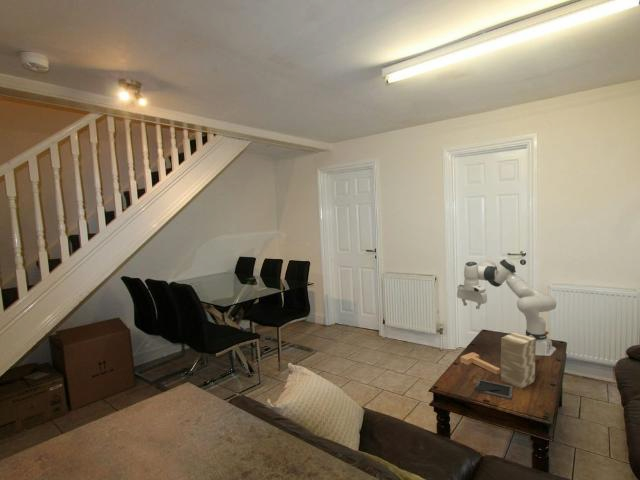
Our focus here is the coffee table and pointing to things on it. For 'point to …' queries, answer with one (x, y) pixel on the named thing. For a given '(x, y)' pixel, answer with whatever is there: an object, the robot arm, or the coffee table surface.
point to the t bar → (479, 362)
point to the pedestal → (518, 359)
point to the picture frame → (494, 389)
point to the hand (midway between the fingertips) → (471, 307)
